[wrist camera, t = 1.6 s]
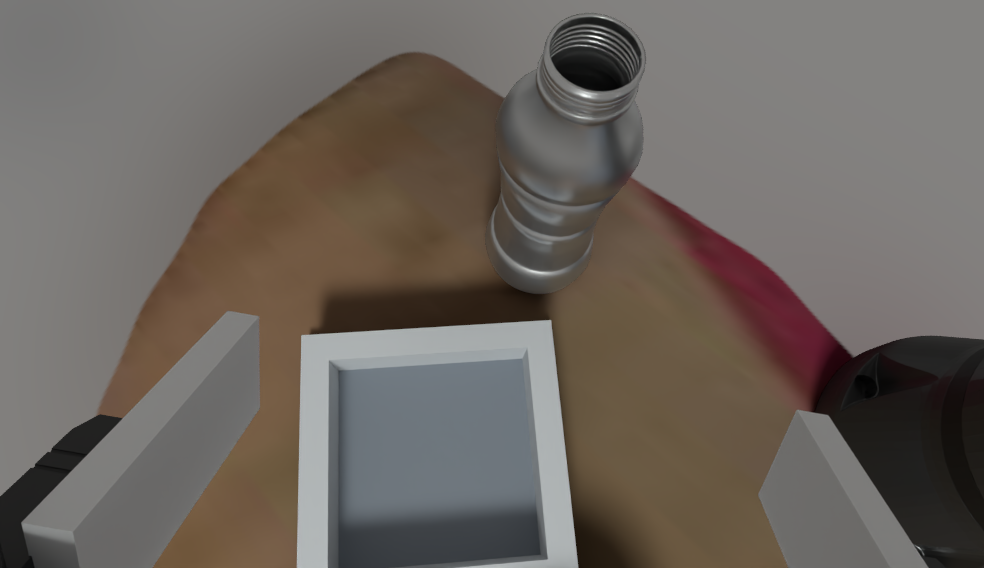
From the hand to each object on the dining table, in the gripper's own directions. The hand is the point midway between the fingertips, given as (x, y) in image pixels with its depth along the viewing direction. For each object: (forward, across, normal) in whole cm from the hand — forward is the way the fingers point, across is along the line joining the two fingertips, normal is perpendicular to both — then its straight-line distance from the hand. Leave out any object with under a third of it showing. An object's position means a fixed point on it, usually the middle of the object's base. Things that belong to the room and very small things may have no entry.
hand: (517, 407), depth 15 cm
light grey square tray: (+16, -3, -16) cm, 23 cm away
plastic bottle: (+26, +1, -7) cm, 27 cm away
